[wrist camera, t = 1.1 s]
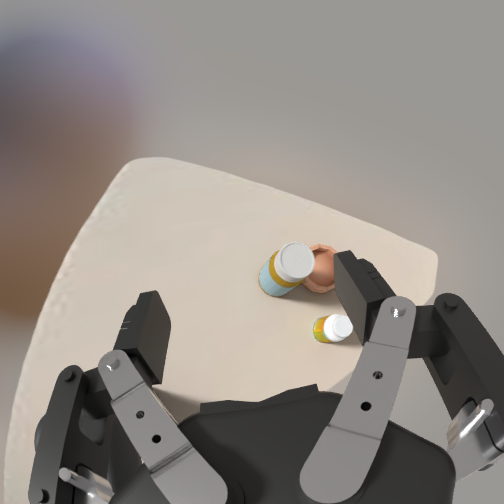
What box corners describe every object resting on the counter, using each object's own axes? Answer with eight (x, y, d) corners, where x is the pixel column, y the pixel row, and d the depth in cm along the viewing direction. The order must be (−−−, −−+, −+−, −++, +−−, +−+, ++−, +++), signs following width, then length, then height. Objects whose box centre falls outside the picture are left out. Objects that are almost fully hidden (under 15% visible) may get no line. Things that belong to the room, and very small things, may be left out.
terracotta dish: (338, 295, 61) (343, 293, 59) (295, 288, 60) (299, 286, 58) (340, 253, 64) (345, 249, 62) (299, 244, 63) (303, 240, 61)
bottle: (260, 298, 58) (279, 282, 44) (256, 265, 60) (273, 240, 46) (293, 295, 59) (320, 278, 45) (287, 263, 61) (313, 237, 47)
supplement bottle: (306, 334, 57) (325, 331, 48) (318, 313, 59) (339, 306, 50) (327, 347, 57) (348, 346, 48) (338, 325, 59) (361, 320, 50)
